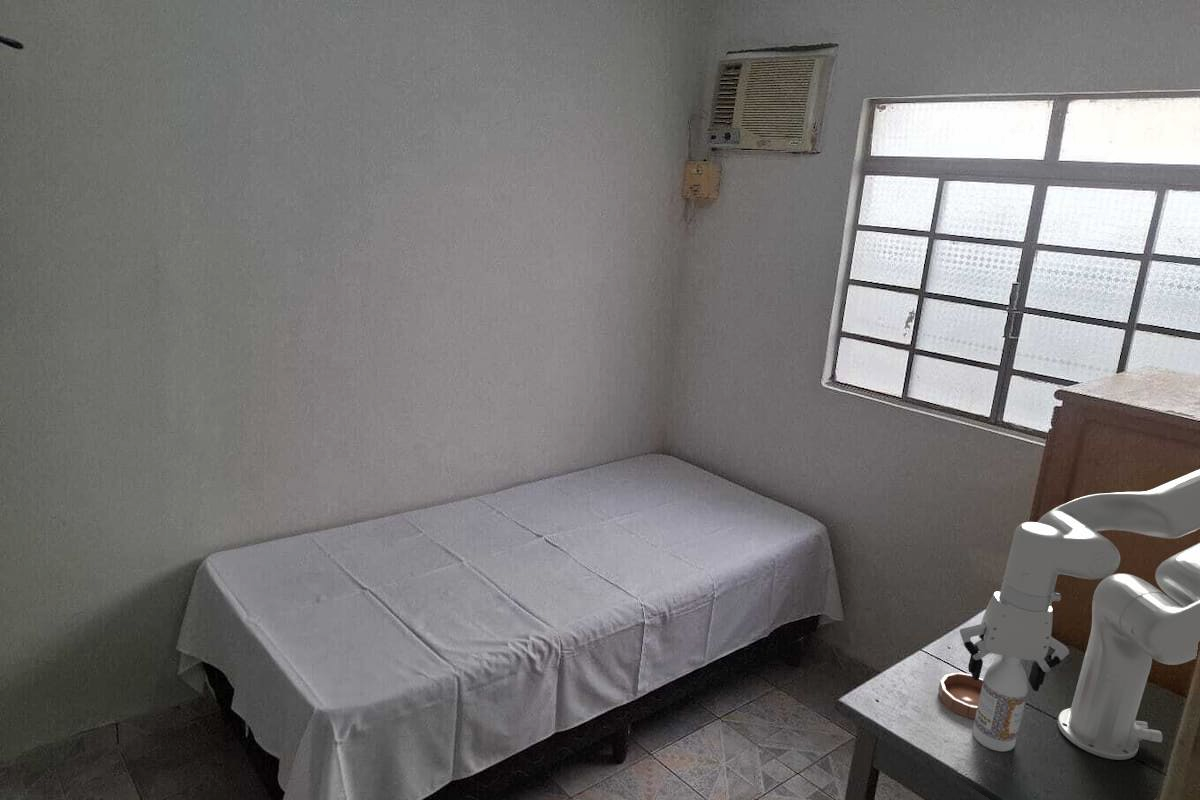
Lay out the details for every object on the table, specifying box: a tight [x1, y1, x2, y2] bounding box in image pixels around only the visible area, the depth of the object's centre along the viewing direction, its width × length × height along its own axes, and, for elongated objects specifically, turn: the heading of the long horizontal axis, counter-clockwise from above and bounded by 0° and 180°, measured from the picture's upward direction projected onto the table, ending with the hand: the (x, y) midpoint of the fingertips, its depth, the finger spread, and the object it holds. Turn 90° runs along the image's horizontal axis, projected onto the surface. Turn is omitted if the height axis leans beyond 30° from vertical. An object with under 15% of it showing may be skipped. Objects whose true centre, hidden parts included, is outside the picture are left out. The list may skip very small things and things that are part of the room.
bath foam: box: [972, 655, 1029, 753], centre depth 139 cm, size 7×7×20 cm
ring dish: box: [938, 671, 984, 721], centre depth 152 cm, size 11×11×3 cm
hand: (1003, 681), depth 139 cm, fingers open, 9 cm apart
